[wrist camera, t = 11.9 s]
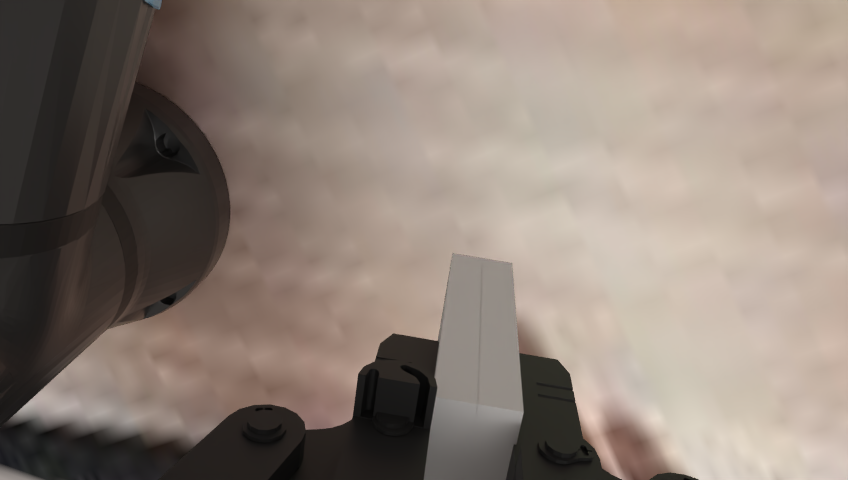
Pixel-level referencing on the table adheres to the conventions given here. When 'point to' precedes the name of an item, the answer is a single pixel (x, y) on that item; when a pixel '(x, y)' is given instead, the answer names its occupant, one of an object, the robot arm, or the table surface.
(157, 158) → the robot arm
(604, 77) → the table surface
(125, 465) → the table surface
